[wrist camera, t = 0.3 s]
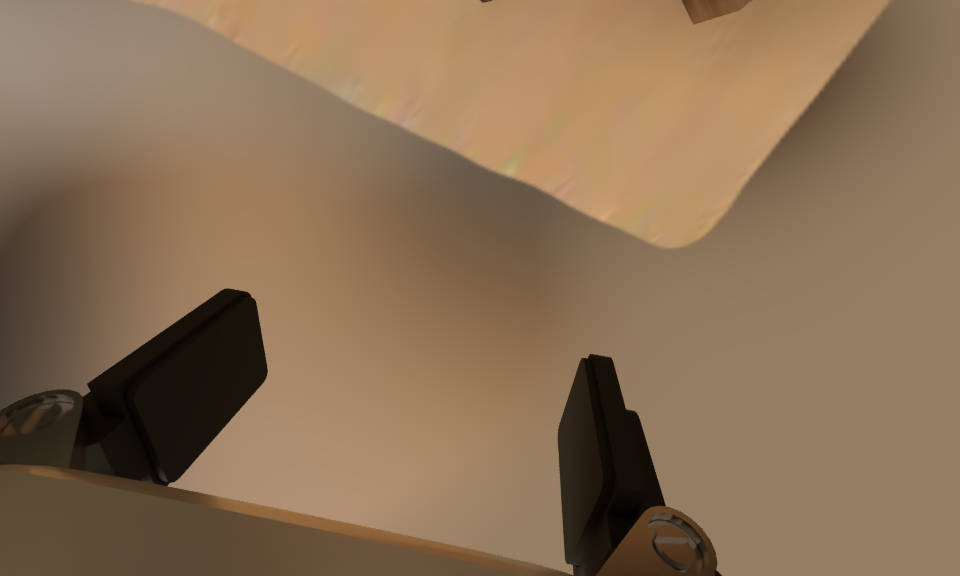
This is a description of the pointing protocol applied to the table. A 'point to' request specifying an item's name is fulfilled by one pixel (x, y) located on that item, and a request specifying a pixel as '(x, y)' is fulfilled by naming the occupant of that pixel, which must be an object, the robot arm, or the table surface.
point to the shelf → (711, 8)
